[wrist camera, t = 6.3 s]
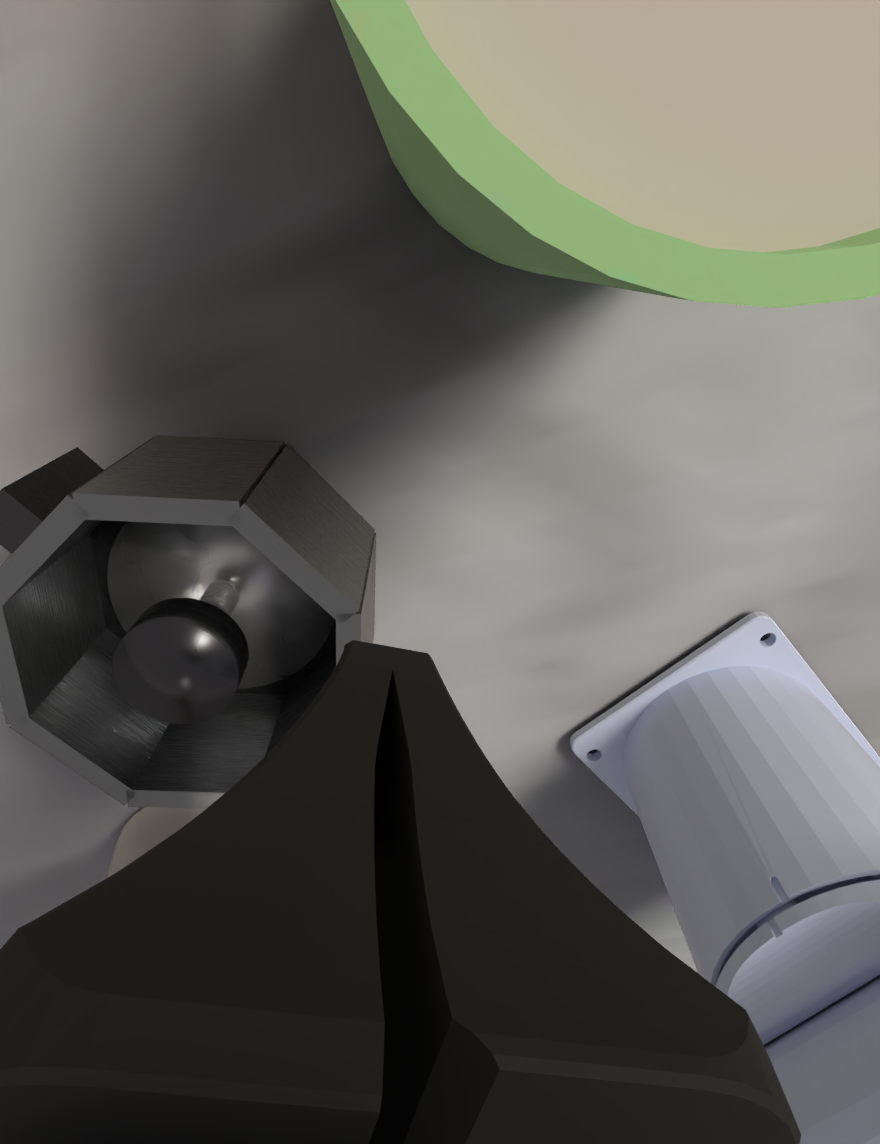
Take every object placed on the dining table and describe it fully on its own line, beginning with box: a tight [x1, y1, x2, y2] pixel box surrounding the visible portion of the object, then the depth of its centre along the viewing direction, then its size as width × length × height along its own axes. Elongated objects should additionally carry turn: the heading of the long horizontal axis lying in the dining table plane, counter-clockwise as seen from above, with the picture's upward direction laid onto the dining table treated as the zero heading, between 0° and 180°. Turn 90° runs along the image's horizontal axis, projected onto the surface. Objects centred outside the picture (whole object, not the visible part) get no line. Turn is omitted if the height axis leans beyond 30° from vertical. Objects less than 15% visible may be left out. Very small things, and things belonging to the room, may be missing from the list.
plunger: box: [107, 521, 334, 725], centre depth 19 cm, size 7×7×5 cm
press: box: [0, 436, 376, 809], centre depth 19 cm, size 10×9×5 cm
